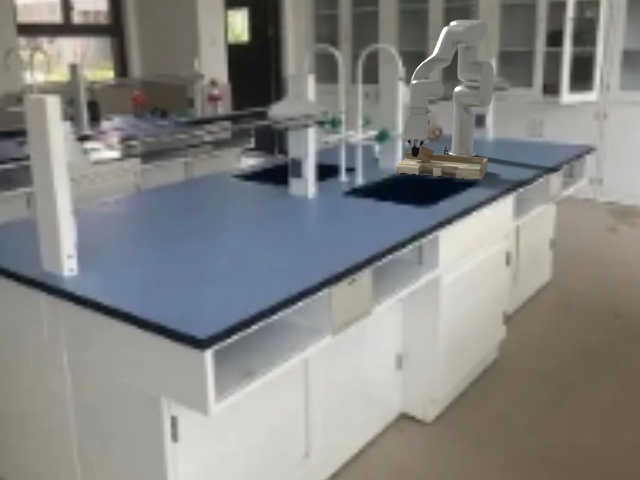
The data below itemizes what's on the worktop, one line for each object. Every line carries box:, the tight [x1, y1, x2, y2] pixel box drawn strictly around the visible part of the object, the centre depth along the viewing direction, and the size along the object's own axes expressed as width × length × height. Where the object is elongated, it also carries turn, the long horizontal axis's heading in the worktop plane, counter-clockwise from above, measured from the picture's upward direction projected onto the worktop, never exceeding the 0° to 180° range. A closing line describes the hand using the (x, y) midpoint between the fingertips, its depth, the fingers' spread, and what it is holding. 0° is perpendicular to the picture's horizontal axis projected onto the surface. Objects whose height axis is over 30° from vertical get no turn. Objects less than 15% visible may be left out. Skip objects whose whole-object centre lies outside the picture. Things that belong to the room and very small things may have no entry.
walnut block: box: [417, 145, 435, 163], centre depth 289 cm, size 5×5×5 cm
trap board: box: [395, 151, 489, 181], centre depth 285 cm, size 18×34×6 cm, turn 71°
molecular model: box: [441, 144, 474, 157], centre depth 301 cm, size 6×15×8 cm, turn 88°
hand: (415, 156), depth 291 cm, fingers closed
